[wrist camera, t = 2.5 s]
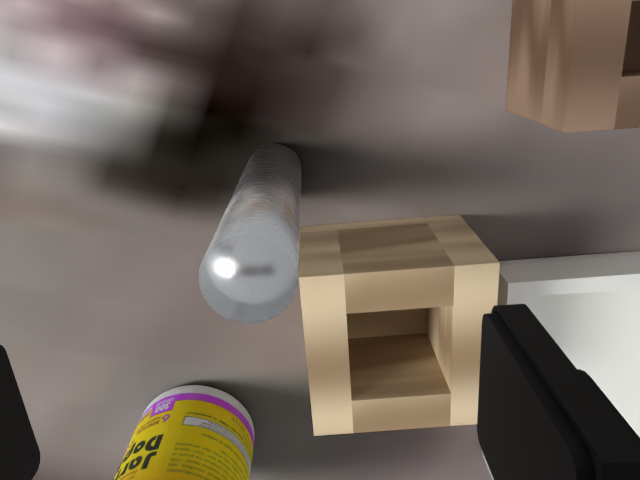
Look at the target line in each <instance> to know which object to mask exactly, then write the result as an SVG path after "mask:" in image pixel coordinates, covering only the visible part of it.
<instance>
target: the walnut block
mask: <svg viewBox="0 0 640 480" xmlns="http://www.w3.org/2000/svg"><path fill="white" fill-rule="evenodd" d="M506 110H507V111H509V112H512V113H514V114H517V115H519V116H522V117H524V118H527V119H530V120H532V121H535V122H537V123H540V124H542V125H545V126H547V127H550V128H553V129H555V130H558V131H560V132H563V133H571V132H584V131H598V130H611V129H624V128H638V127H640V0H513V1H512V17H511V33H510V50H509V66H508V83H507V99H506Z"/></svg>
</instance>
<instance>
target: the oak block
mask: <svg viewBox="0 0 640 480" xmlns="http://www.w3.org/2000/svg"><path fill="white" fill-rule="evenodd" d="M499 268H500V262H499V261H498V260H497V259H496V257H495V256H494V255H493V254H492V253H491V251H490V250H489V249H488V248H487V247H486V246H485V244H484V243H483V242H482V241H481V240H480V238H479V237H478V236H477V235H476V234H475V232H474V231H473V230H472V229H471V228H470V226H469V225H468V224H467V223H466V222H465V220H464V219H463V218H462V217H461V216H460V215H449V216H436V217H423V218H409V219H396V220H382V221H369V222H356V223H342V224H329V225H315V226H302V227H300V257H299V285H300V295H301V306H302V316H303V327H304V337H305V347H306V358H307V368H308V379H309V389H310V400H311V410H312V420H313V431H314V436H320V435H334V434H347V433H361V432H375V431H388V430H402V429H416V428H429V427H443V426H457V425H471V424H477V417H478V396H479V374H480V353H481V332H482V318H483V315H484V314H488V313H491V311H492V308H493V307H494V306H495V305H497V300H498V284H499Z"/></svg>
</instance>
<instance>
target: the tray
mask: <svg viewBox="0 0 640 480" xmlns="http://www.w3.org/2000/svg"><path fill="white" fill-rule="evenodd" d="M499 262H500V268H499V284H498V300H497V305H511V304H526V305H527V306H528V308H529V309H530V310H531V311H532V313H533V314H534V315H535V316H536V318H537V319H538V320H539V322H540V323H541V324H542V325H543V327H544V328H545V329H546V330H547V332H548V333H549V334H550V336H551V337H552V338H553V339H554V341H555V342H556V343H557V344H558V346H559V347H560V348H561V350H562V351H563V352H564V353H565V355H566V356H567V357H568V358H569V360H570V361H571V362H572V364H573V365H574V366H575V367H576V369H580V370H583V371H585V372H586V373H587V374H588V375H589V376H590V377H591V378H592V379H593V380H594V382H595V383H596V384H597V385H598V387H599V388H600V389H601V390H602V391H603V393H604V394H605V395H606V396H607V398H608V399H609V400H610V401H611V403H612V404H613V405H614V406H615V408H616V409H617V410H618V411H619V413H620V414H621V415H622V416H623V417H624V419H625V420H626V421H627V422H628V424H629V425H630V426H631V427H632V429H633V430H634V431H635V432H636V434H637V435H638V436H639V437H640V251H631V252H617V253H604V254H590V255H577V256H563V257H549V258H536V259H522V260H508V261H499ZM480 450H481V453H482V455H483V457H484V460H485V462H486V465H487V467H488V469H489V466H488V464H487V461H486V459H485V456H484V454H483V451H482V449H480ZM489 472H490V474H491V471H490V469H489ZM491 477H492V474H491ZM492 479H493V477H492ZM493 480H494V479H493Z"/></svg>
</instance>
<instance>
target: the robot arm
mask: <svg viewBox="0 0 640 480" xmlns="http://www.w3.org/2000/svg"><path fill="white" fill-rule="evenodd" d="M477 432H478V439H479V443H480V446H481V449H482V451H483V454H484V456H485V459H486V461H487V464H488V466H489V469H490V471H491V474H492V477H493V479H494V480H640V437H639V436H638V435H637V434H636V432H635V431H634V430H633V429H632V427H631V426H630V425H629V424H628V422H627V421H626V420H625V419H624V417H623V416H622V415H621V414H620V413H619V411H618V410H617V409H616V408H615V406H614V405H613V404H612V403H611V401H610V400H609V399H608V398H607V396H606V395H605V394H604V393H603V391H602V390H601V389H600V388H599V387H598V385H597V384H596V383H595V382H594V380H593V379H592V378H591V377H590V376H589V375H588V374H587V373H586V372H585V371H583V370H580V369H576V367H575V366H574V365H573V364H572V362H571V361H570V360H569V358H568V357H567V356H566V355H565V353H564V352H563V351H562V350H561V348H560V347H559V346H558V344H557V343H556V342H555V341H554V339H553V338H552V337H551V336H550V334H549V333H548V332H547V330H546V329H545V328H544V327H543V325H542V324H541V323H540V322H539V320H538V319H537V318H536V316H535V315H534V314H533V313H532V311H531V310H530V309H529V308H528V306H527V305H526V304H511V305H495V306H494V307H493V308H492V311H491V313H488V314H484V315H483V318H482V332H481V353H480V374H479V396H478V417H477ZM39 464H40V451H39V448H38V445H37V442H36V439H35V436H34V433H33V430H32V427H31V424H30V421H29V418H28V415H27V412H26V409H25V406H24V403H23V400H22V397H21V394H20V391H19V388H18V385H17V382H16V379H15V376H14V373H13V370H12V367H11V364H10V361H9V358H8V355H7V352H6V350H5V348H4V347H3V346H2V345H0V480H32V478H33V477H34V475H35V474H36V472H37V470H38V467H39Z"/></svg>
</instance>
